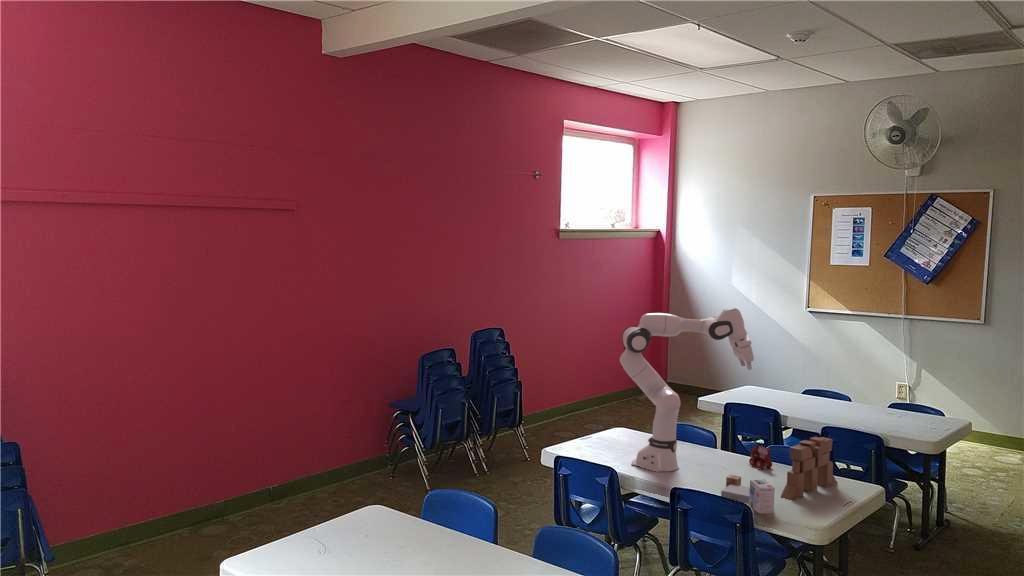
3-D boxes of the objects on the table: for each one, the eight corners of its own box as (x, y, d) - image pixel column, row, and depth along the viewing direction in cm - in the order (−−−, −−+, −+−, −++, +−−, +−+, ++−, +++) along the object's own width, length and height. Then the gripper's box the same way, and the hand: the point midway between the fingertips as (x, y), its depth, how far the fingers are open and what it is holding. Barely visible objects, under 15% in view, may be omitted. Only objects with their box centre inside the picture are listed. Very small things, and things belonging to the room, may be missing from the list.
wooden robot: (822, 479, 367) (824, 431, 365) (840, 483, 360) (842, 434, 359) (777, 497, 340) (779, 445, 339) (796, 502, 334) (798, 449, 332)
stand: (721, 496, 340) (721, 490, 339) (731, 489, 349) (731, 483, 349) (748, 502, 333) (748, 496, 333) (757, 494, 342) (758, 489, 342)
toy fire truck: (757, 462, 392) (758, 442, 391) (774, 469, 380) (775, 448, 380) (746, 463, 389) (746, 443, 389) (762, 471, 378) (763, 449, 377)
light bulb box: (748, 504, 330) (749, 479, 329) (764, 504, 330) (764, 479, 329) (758, 513, 319) (759, 487, 318) (774, 513, 320) (775, 487, 319)
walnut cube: (726, 488, 351) (726, 477, 351) (729, 485, 355) (730, 474, 355) (736, 490, 348) (737, 479, 348) (740, 487, 352) (741, 476, 352)
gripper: (726, 339, 387) (733, 365, 388) (739, 345, 366) (747, 373, 367) (738, 335, 387) (746, 362, 388) (752, 341, 366) (759, 369, 367)
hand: (746, 367), depth 377 cm, fingers open, 8 cm apart
